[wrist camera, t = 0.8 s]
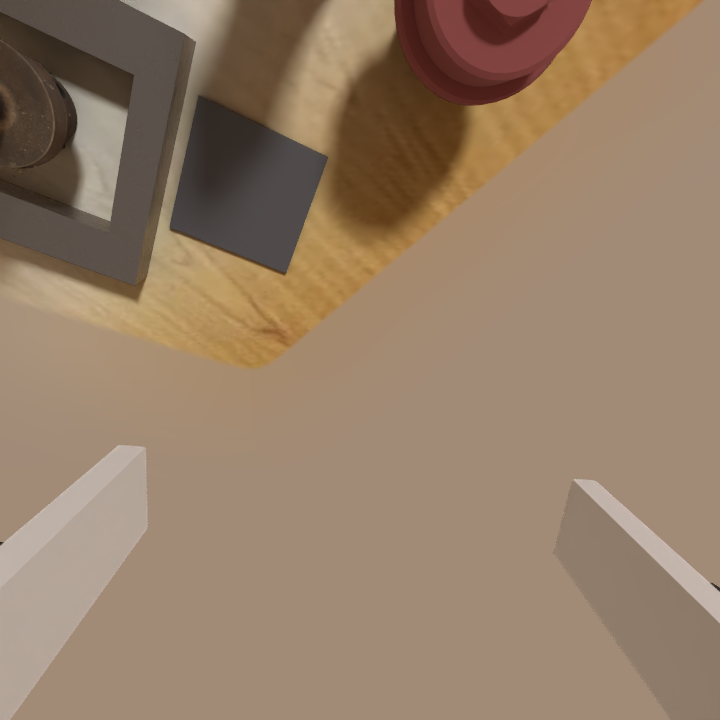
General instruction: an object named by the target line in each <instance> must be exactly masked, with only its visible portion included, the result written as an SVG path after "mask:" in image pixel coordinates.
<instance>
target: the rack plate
mask: <svg viewBox="0 0 720 720" xmlns="http://www.w3.org/2000/svg"><path fill="white" fill-rule="evenodd" d="M0 12H1V13H3V14H6V15H8V16H10V17H12V18H14V19H16V20H18V21H20V22H22V23H25V24H27V25H29V26H31V27H33V28H35V29H37V30H39V31H42V32H44V33H46V34H48V35H50V36H52V37H54V38H56V39H59V40H61V41H63V42H65V43H67V44H69V45H71V46H73V47H75V48H78V49H80V50H82V51H84V52H86V53H88V54H90V55H92V56H95V57H97V58H99V59H101V60H103V61H105V62H107V63H109V64H112V65H114V66H116V67H118V68H120V69H122V70H124V71H126V72H128V73H131V74H133V75H134V78H133V84H132V91H131V97H130V103H129V109H128V116H127V122H126V128H125V134H124V141H123V147H122V153H121V159H120V166H119V172H118V178H117V184H116V191H115V197H114V203H113V209H112V216H111V222H109V221H107V220H104V219H102V218H99V217H96V216H94V215H91V214H89V213H86V212H83V211H81V210H78V209H76V208H73V207H70V206H68V205H65V204H63V203H60V202H58V201H55V200H52V199H50V198H47V197H45V196H42V195H39V194H37V193H34V192H32V191H29V190H26V189H24V188H21V187H19V186H16V185H13V184H11V183H8V182H6V181H3V180H0V238H2V239H5V240H8V241H10V242H13V243H16V244H19V245H22V246H24V247H27V248H30V249H33V250H36V251H39V252H41V253H44V254H47V255H50V256H53V257H55V258H58V259H61V260H64V261H67V262H70V263H72V264H75V265H78V266H81V267H84V268H86V269H89V270H92V271H95V272H98V273H101V274H103V275H106V276H109V277H112V278H115V279H117V280H120V281H123V282H126V283H129V284H132V285H134V286H135V285H136V284H137V283H139V282H140V281H142V280H143V279H144V278H146V277H147V273H148V268H149V263H150V258H151V254H152V249H153V244H154V239H155V235H156V230H157V225H158V220H159V216H160V211H161V206H162V201H163V196H164V192H165V187H166V182H167V177H168V173H169V168H170V163H171V158H172V153H173V149H174V144H175V139H176V134H177V130H178V125H179V120H180V115H181V111H182V106H183V101H184V96H185V91H186V87H187V82H188V77H189V72H190V68H191V63H192V58H193V53H194V48H195V44H196V42H195V41H194V40H192V39H191V38H189V37H188V36H187V35H185V34H184V33H182V32H180V31H178V30H176V29H174V28H172V27H170V26H168V25H166V24H164V23H162V22H160V21H158V20H156V19H154V18H152V17H150V16H148V15H146V14H144V13H142V12H140V11H138V10H136V9H134V8H132V7H131V6H129V5H127V4H125V3H123V2H121V1H119V0H0Z"/></svg>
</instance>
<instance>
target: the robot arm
mask: <svg viewBox="0 0 720 720" xmlns="http://www.w3.org/2000/svg"><path fill="white" fill-rule="evenodd" d="M147 520H148V517H147V477H146V447H140V446H125V445H118V446H117V447H116V448H115V449H114V450H113V451H111V452H110V453H109V454H108V455H107V456H105V457H104V458H103V459H102V460H101V461H100V462H99V463H97V464H96V465H95V466H94V467H93V468H91V469H90V470H89V471H88V472H87V473H85V474H84V475H83V476H82V477H81V478H80V479H78V480H77V481H76V482H75V483H74V484H73V485H71V486H70V487H69V488H68V489H67V490H65V491H64V492H63V493H62V494H61V495H59V496H58V497H57V498H56V499H55V500H54V501H52V502H51V503H50V504H49V505H48V506H47V507H45V508H44V509H43V510H42V511H41V512H39V513H38V514H37V515H36V516H35V517H34V518H32V519H31V520H30V521H29V522H28V523H26V524H25V525H24V526H23V527H22V528H21V529H19V530H18V531H17V532H16V533H15V534H14V535H12V536H11V537H10V538H9V539H8V540H6V541H5V542H0V720H10V719H11V718H12V716H13V715H14V714H15V712H16V711H17V709H18V708H19V707H20V705H21V704H22V703H23V701H24V700H25V698H26V697H27V696H28V694H29V693H30V691H31V690H32V689H33V687H34V686H35V684H36V683H37V682H38V680H39V679H40V677H41V676H42V675H43V673H44V672H45V670H46V669H47V668H48V666H49V664H50V663H51V662H52V661H53V659H54V658H55V656H56V655H57V654H58V652H59V651H60V649H61V648H62V647H63V645H64V644H65V643H66V641H67V640H68V638H69V637H70V635H71V634H72V633H73V631H74V630H75V629H76V627H77V626H78V624H79V623H80V622H81V620H82V619H83V617H84V616H85V615H86V613H87V612H88V610H89V609H90V608H91V606H92V604H93V603H94V602H95V601H96V599H97V598H98V596H99V595H100V594H101V592H102V591H103V589H104V588H105V587H106V585H107V584H108V583H109V581H110V580H111V578H112V577H113V576H114V574H115V573H116V571H117V570H118V569H119V567H120V566H121V564H122V563H123V562H124V560H125V559H126V557H127V556H128V555H129V553H130V552H131V550H132V549H133V548H134V546H135V545H136V543H137V542H138V541H139V539H140V538H141V536H142V535H143V534H144V532H145V531H146V529H147V528H148V521H147ZM554 555H555V556H556V558H557V559H558V560H559V562H560V563H561V565H562V566H563V568H564V569H565V570H566V572H567V573H568V575H569V576H570V577H571V579H572V580H573V582H574V583H575V584H576V586H577V587H578V589H579V590H580V592H581V593H582V594H583V596H584V597H585V599H586V600H587V602H588V603H589V604H590V606H591V607H592V609H593V610H594V612H595V613H596V614H597V616H598V617H599V619H600V620H601V622H602V623H603V624H604V626H605V627H606V629H607V630H608V631H609V633H610V634H611V635H612V637H613V638H614V640H615V641H616V643H617V644H618V646H619V647H620V649H621V650H622V651H623V653H624V654H625V656H626V657H627V658H628V660H629V661H630V663H631V664H632V666H633V667H634V668H635V670H636V671H637V673H638V674H639V675H640V677H641V678H642V680H643V681H644V683H645V684H646V685H647V687H648V688H649V690H650V691H651V693H652V694H653V695H654V697H655V698H656V700H657V701H658V702H659V704H660V705H661V707H662V708H663V709H664V711H665V712H666V714H667V715H668V717H669V718H670V719H671V720H720V588H719V587H718V586H716V585H715V584H713V583H709V582H708V581H707V580H706V579H705V578H704V577H703V576H701V575H700V574H699V573H698V572H697V571H696V570H694V568H692V567H691V566H690V565H689V564H688V563H687V562H686V561H685V560H684V559H682V558H681V557H680V556H679V555H678V554H677V553H676V552H675V551H674V550H672V549H671V548H670V547H669V546H668V545H667V544H666V543H665V542H663V541H662V540H661V539H660V538H659V537H658V536H657V535H655V534H654V533H653V532H652V531H651V530H650V529H649V528H648V527H647V526H646V525H644V524H643V523H642V522H641V521H640V520H639V519H638V518H637V517H636V516H634V515H633V514H632V513H631V512H630V511H629V510H628V509H627V508H625V507H624V506H623V505H622V504H621V503H620V502H619V501H617V499H615V498H614V497H613V496H612V495H611V494H610V493H609V492H608V491H607V490H605V489H604V488H603V487H602V486H601V485H600V484H599V483H598V482H596V481H593V480H580V479H572V482H571V486H570V490H569V494H568V498H567V502H566V506H565V510H564V514H563V518H562V521H561V525H560V529H559V533H558V537H557V541H556V545H555V549H554Z"/></svg>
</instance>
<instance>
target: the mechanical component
mask: <svg viewBox="0 0 720 720" xmlns="http://www.w3.org/2000/svg"><path fill="white" fill-rule="evenodd" d="M394 1H395V21H396V29H397V33H398V37H399V41H400V45H401V48H402V50H403V53H404V56H405V58H406V60H407V62H408V64H409V66H410V67H411V69H412V71H413V72H414V73H415V75H416V76H417V78H418V79H419V80H420V81H421V82H422V83H423V84H424V85H425V86H426V87H427V88H428V89H429V90H430V91H432V92H433V93H434V94H436V95H437V96H439V97H441V98H443V99H445V100H447V101H449V102H453V103H456V104H461V105H470V106H472V105H484V104H488V103H493V102H497V101H500V100H503V99H506V98H508V97H510V96H512V95H514V94H516V93H518V92H520V91H521V90H523V89H524V88H526V87H527V86H529V85H530V84H531V83H532V82H533V81H535V80H536V79H537V78H538V77H539V76H540V75H541V74H542V73H543V72H544V71H545V69H546V68H547V67H548V66H549V65H550V64H551V62H552V61H553V59H554V58H555V57H556V55H557V54H558V53H559V52H560V51H561V50H562V49H563V48H564V47H565V46H566V44H567V43H568V42H569V41H570V39H571V38H572V37H573V36H574V34H575V32H576V31H577V29H578V28H579V26H580V24H581V23H582V21H583V19H584V17H585V15H586V13H587V11H588V9H589V7H590V4H591V1H592V0H394Z"/></svg>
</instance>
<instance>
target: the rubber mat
mask: <svg viewBox="0 0 720 720" xmlns="http://www.w3.org/2000/svg"><path fill="white" fill-rule="evenodd" d="M327 159H328V157H327V156H325V155H323V154H320V153H318V152H316V151H314V150H312V149H310V148H308V147H306V146H304V145H302V144H300V143H297V142H295V141H293V140H291V139H289V138H287V137H285V136H283V135H281V134H279V133H276V132H274V131H272V130H270V129H268V128H266V127H264V126H262V125H260V124H258V123H256V122H253V121H251V120H249V119H247V118H245V117H243V116H241V115H239V114H237V113H235V112H233V111H230V110H228V109H226V108H224V107H222V106H220V105H218V104H216V103H214V102H212V101H209V100H207V99H205V98H203V97H201V96H199V97H198V101H197V106H196V110H195V115H194V119H193V124H192V128H191V133H190V137H189V142H188V146H187V151H186V155H185V160H184V164H183V169H182V173H181V177H180V182H179V186H178V191H177V195H176V200H175V204H174V209H173V213H172V218H171V222H170V228H172V229H175V230H177V231H180V232H182V233H185V234H187V235H190V236H193V237H195V238H198V239H200V240H203V241H205V242H208V243H210V244H213V245H215V246H218V247H220V248H223V249H225V250H228V251H231V252H233V253H236V254H238V255H241V256H243V257H246V258H248V259H251V260H253V261H256V262H258V263H261V264H263V265H266V266H268V267H271V268H274V269H276V270H279V271H281V272H284V273H286V272H287V269H288V266H289V264H290V261H291V258H292V255H293V253H294V250H295V247H296V244H297V242H298V239H299V236H300V233H301V231H302V228H303V225H304V222H305V219H306V217H307V214H308V211H309V208H310V206H311V203H312V200H313V197H314V195H315V192H316V189H317V186H318V184H319V181H320V178H321V175H322V173H323V170H324V167H325V164H326V161H327Z"/></svg>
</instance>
